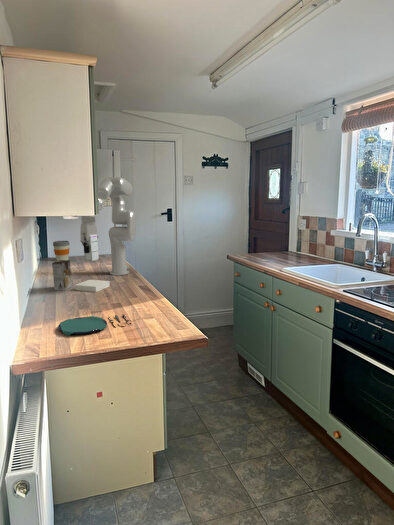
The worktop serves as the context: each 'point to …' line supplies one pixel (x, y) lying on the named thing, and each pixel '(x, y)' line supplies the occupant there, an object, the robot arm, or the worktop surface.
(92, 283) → the base plinth
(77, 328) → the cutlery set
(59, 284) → the coffee box
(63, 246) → the reusable coffee cup
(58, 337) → the worktop surface
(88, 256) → the syrup box
